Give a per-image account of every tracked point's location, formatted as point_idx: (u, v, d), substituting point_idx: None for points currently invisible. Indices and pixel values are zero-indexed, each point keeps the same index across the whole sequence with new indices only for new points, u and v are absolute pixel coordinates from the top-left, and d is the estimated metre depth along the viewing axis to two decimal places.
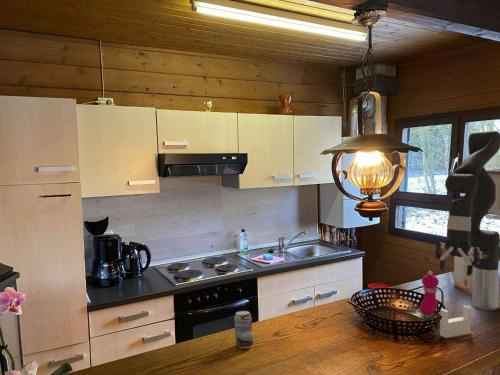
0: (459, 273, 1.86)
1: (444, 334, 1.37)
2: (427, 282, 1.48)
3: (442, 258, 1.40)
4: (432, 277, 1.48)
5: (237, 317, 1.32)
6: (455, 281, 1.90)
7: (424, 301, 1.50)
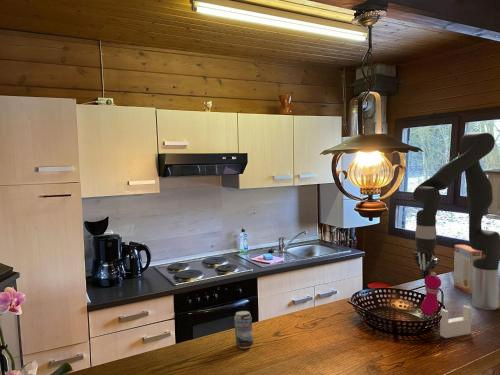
0: (459, 273, 1.86)
1: (444, 334, 1.37)
2: (430, 283, 1.47)
3: (421, 266, 1.53)
4: (435, 278, 1.47)
5: (237, 317, 1.32)
6: (455, 281, 1.90)
7: (425, 301, 1.50)
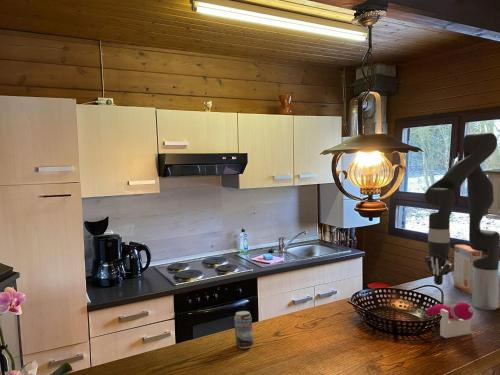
0: (459, 273, 1.86)
1: (444, 334, 1.37)
2: (460, 316, 1.34)
3: (434, 271, 1.46)
4: (469, 315, 1.33)
5: (237, 317, 1.32)
6: (455, 281, 1.90)
7: None
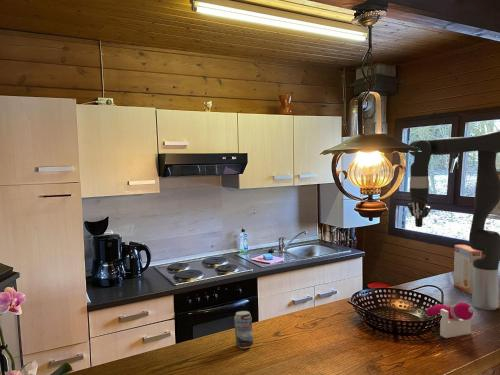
0: (459, 273, 1.86)
1: (444, 334, 1.37)
2: (460, 316, 1.34)
3: (415, 215, 1.64)
4: (469, 315, 1.33)
5: (237, 317, 1.32)
6: (455, 281, 1.90)
7: None
